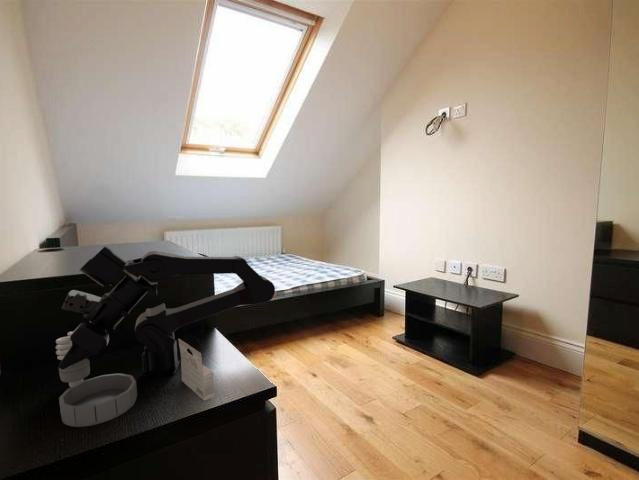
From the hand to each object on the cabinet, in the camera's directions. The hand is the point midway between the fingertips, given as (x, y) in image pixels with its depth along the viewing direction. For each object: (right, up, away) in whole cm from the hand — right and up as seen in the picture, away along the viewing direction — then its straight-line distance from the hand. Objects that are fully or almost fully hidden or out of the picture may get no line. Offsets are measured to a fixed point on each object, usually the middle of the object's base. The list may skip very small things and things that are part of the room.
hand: (65, 358), depth 73 cm
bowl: (+11, -7, -6) cm, 14 cm away
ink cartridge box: (+27, -6, 0) cm, 28 cm away
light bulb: (+1, -7, +1) cm, 7 cm away
